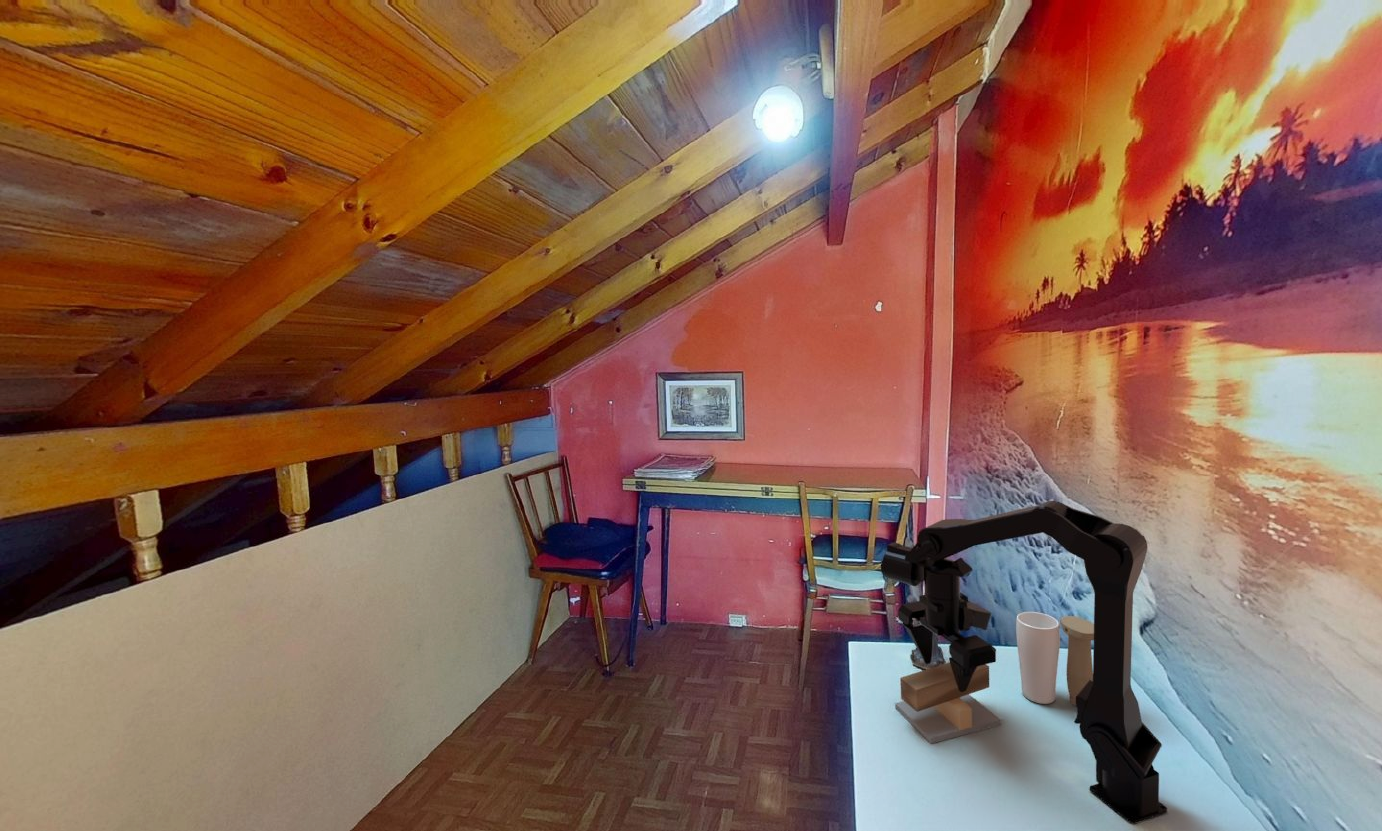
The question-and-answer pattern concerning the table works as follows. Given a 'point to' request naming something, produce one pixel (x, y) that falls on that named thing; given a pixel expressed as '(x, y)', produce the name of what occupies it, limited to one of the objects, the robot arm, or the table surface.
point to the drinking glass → (1038, 655)
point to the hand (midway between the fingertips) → (944, 676)
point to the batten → (939, 686)
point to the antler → (936, 650)
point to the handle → (1078, 653)
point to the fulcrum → (949, 718)
